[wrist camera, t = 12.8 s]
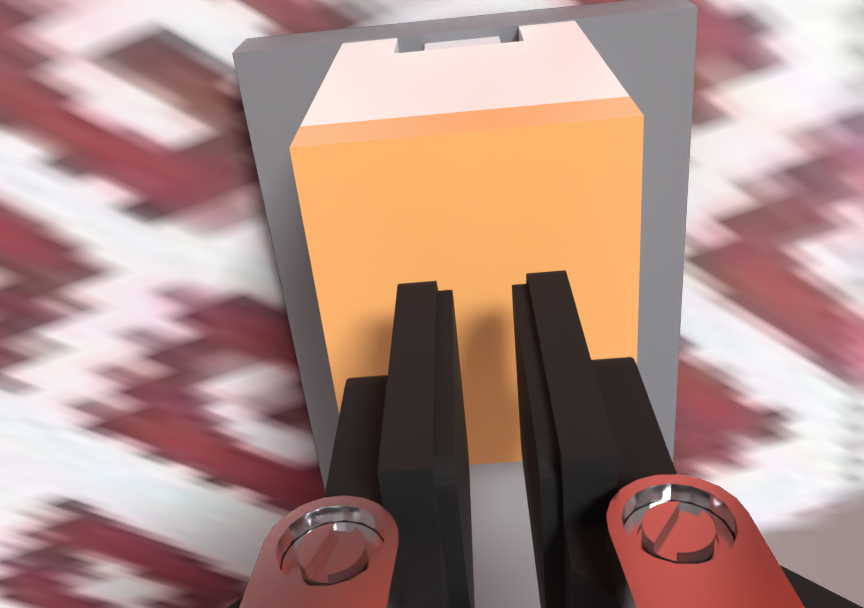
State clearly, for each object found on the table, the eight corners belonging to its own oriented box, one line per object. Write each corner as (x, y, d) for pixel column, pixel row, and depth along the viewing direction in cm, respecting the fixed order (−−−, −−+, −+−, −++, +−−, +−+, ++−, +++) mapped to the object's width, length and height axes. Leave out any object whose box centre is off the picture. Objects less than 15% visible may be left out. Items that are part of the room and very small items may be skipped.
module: (377, 287, 21) (350, 472, 15) (342, 43, 18) (288, 148, 12) (578, 271, 21) (634, 453, 14) (574, 20, 18) (643, 116, 12)
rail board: (338, 493, 26) (313, 640, 21) (246, 38, 19) (180, 103, 15) (658, 472, 26) (708, 618, 21) (680, -5, 19) (760, 48, 14)
